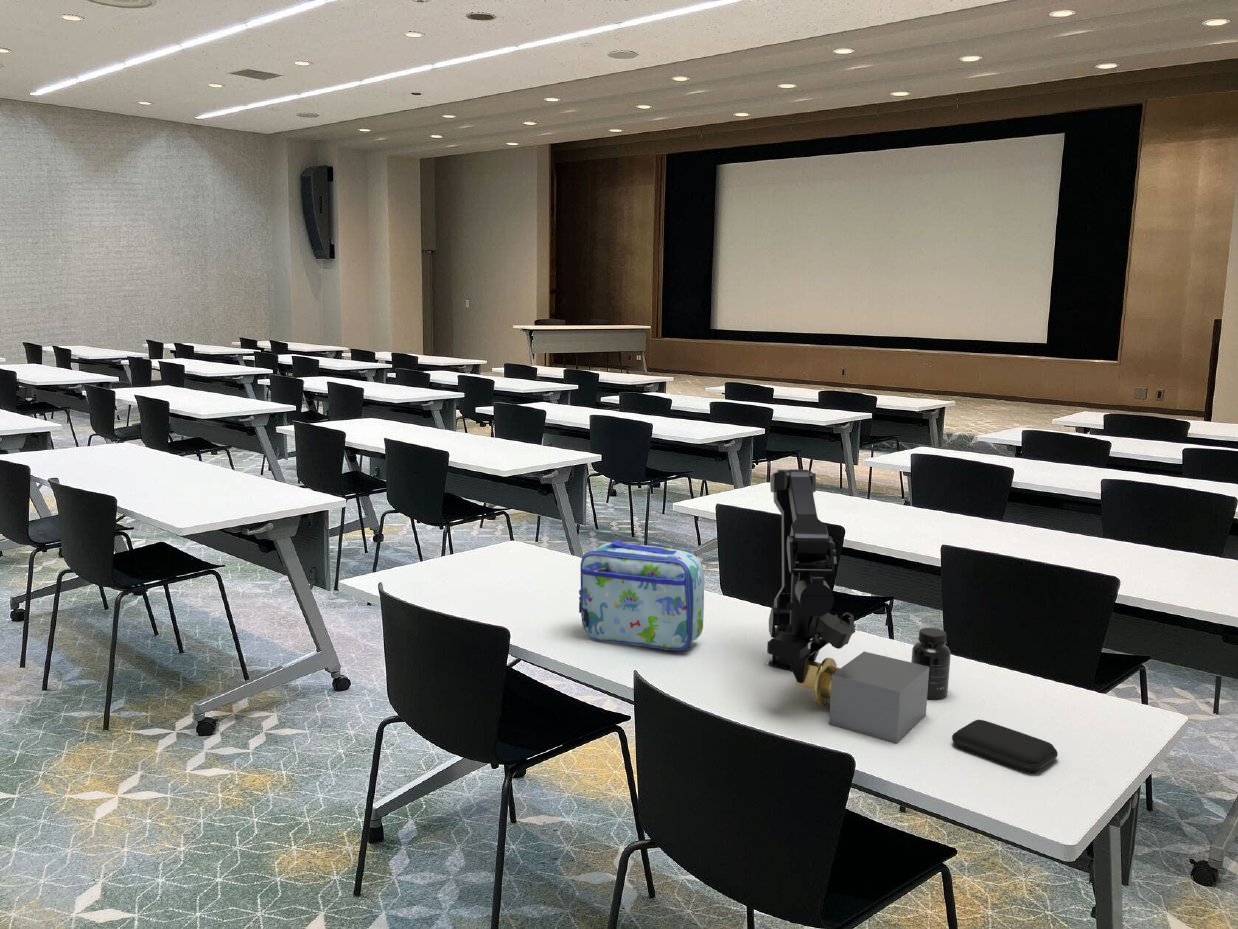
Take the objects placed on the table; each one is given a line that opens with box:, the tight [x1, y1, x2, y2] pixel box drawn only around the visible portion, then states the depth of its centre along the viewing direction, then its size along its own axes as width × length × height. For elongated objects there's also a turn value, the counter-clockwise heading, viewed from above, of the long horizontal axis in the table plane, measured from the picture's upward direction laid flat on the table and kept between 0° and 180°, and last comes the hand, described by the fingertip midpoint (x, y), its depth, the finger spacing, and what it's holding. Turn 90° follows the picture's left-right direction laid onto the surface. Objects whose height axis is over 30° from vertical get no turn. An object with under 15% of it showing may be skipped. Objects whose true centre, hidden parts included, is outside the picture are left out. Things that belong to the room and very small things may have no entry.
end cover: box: [795, 657, 841, 706], centre depth 176 cm, size 11×8×8 cm
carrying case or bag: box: [951, 719, 1059, 774], centre depth 160 cm, size 11×3×15 cm
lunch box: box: [578, 539, 705, 652], centre depth 206 cm, size 26×11×21 cm, turn 65°
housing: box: [828, 650, 929, 744], centre depth 170 cm, size 12×14×9 cm
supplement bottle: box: [910, 627, 952, 701], centre depth 182 cm, size 7×7×12 cm
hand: (803, 680), depth 179 cm, fingers closed on end cover, 2 cm apart
